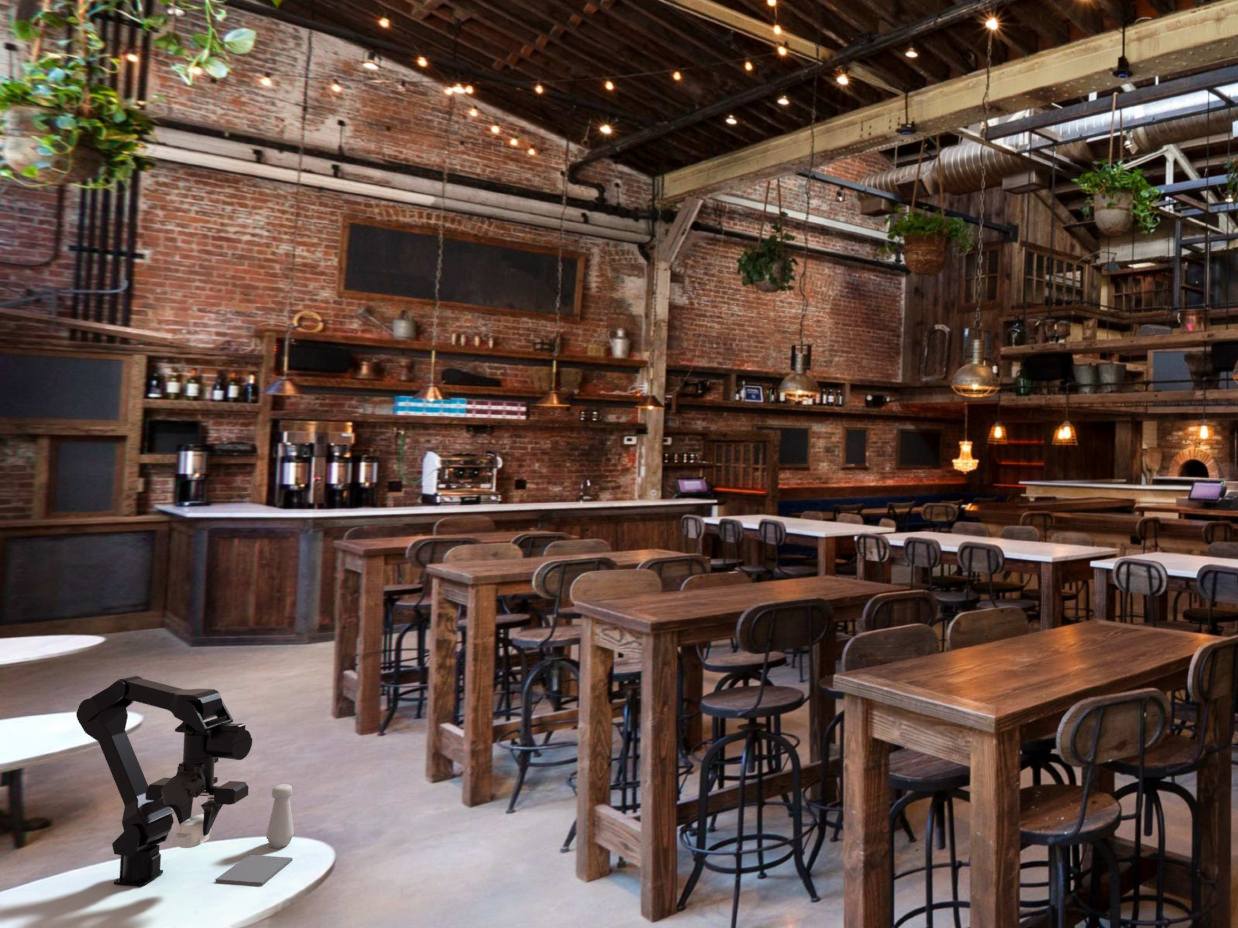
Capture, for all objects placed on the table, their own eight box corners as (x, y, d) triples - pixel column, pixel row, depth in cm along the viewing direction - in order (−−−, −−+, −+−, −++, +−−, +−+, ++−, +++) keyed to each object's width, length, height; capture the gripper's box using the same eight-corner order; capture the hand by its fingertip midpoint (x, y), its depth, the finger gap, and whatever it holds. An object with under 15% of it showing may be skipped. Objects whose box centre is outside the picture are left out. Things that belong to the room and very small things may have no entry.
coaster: (215, 881, 166) (215, 878, 166) (248, 857, 178) (248, 854, 178) (262, 885, 165) (262, 882, 165) (292, 860, 177) (292, 857, 177)
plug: (196, 833, 167) (197, 813, 168) (215, 834, 167) (216, 814, 167) (168, 851, 159) (169, 830, 159) (187, 852, 158) (188, 831, 158)
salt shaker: (283, 850, 182) (285, 790, 182) (260, 848, 183) (262, 788, 183) (298, 840, 187) (301, 782, 188) (276, 838, 188) (278, 780, 189)
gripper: (127, 764, 158) (123, 847, 157) (218, 769, 156) (215, 853, 155) (165, 748, 169) (162, 825, 168) (251, 752, 167) (248, 831, 166)
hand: (195, 834), depth 164 cm, fingers closed on plug, 4 cm apart
